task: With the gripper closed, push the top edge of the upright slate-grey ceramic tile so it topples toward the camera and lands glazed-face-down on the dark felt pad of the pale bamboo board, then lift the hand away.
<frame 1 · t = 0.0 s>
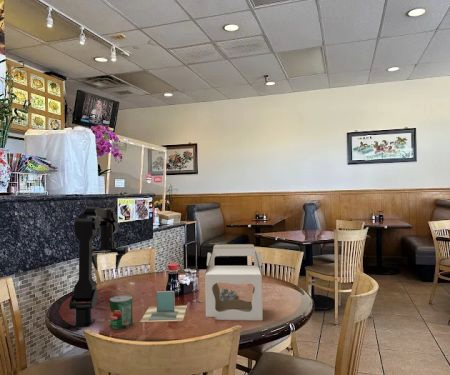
hand: (106, 269, 162), 15 cm above the table, fingers open, 9 cm apart
tile: (165, 311, 142), point 1 cm above the table, touching board
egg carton: (228, 299, 162), on the table
board: (165, 316, 140), on the table
canned tomato: (121, 329, 127), on the table
gable box: (235, 315, 140), on the table
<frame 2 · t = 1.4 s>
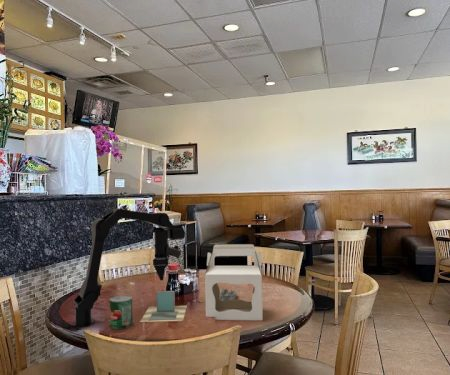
hand: (162, 277, 151), 13 cm above the table, fingers open, 9 cm apart
nothing on the table moved.
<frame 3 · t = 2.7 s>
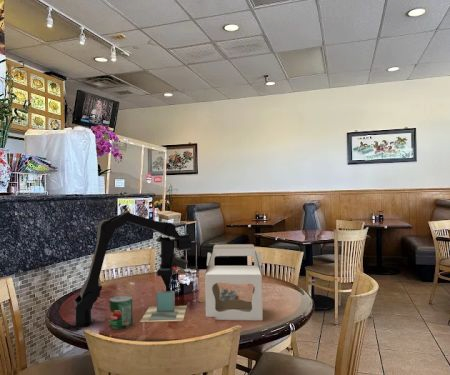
hand: (168, 288, 150), 8 cm above the table, fingers closed
nothing on the table moved.
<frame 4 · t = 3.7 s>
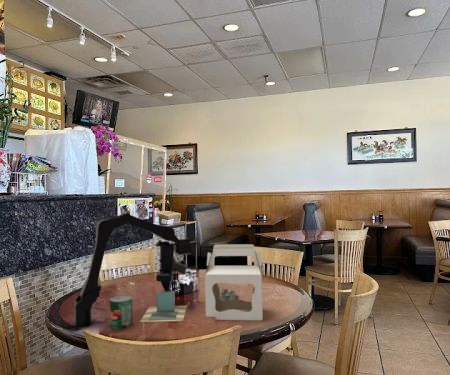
hand: (167, 293, 147), 7 cm above the table, fingers closed
nothing on the table moved.
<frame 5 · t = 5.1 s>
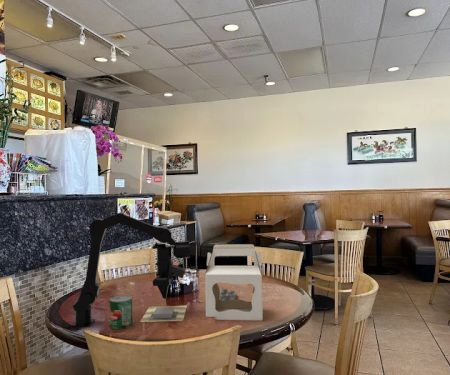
hand: (164, 298, 140), 7 cm above the table, fingers closed
tile: (165, 309, 141), point 2 cm above the table, tilted 90°, touching board
everything else where it was.
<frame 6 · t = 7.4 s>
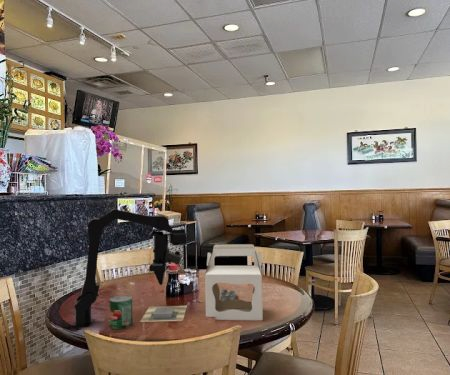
hand: (161, 284, 143), 12 cm above the table, fingers closed
nothing on the table moved.
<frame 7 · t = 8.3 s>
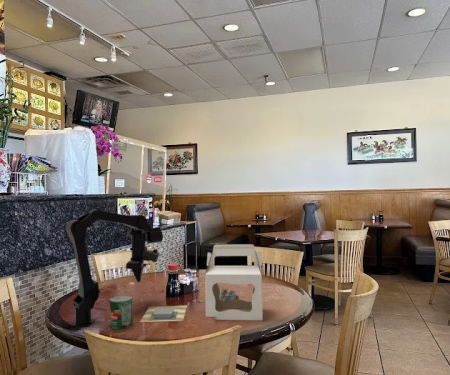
hand: (139, 281, 148), 12 cm above the table, fingers closed
nothing on the table moved.
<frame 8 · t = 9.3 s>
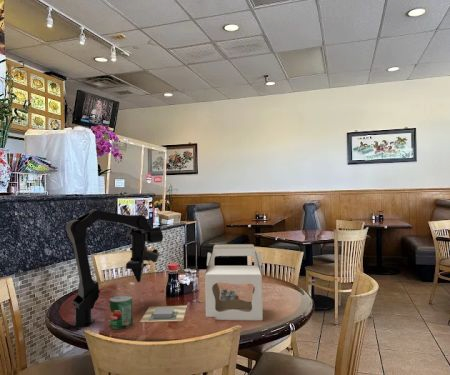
hand: (139, 281, 148), 12 cm above the table, fingers closed
nothing on the table moved.
at the end: tile tilted 90°; tile inside the target area on the board (4.3 cm from its centre), point 2.3 cm above the board's base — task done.
